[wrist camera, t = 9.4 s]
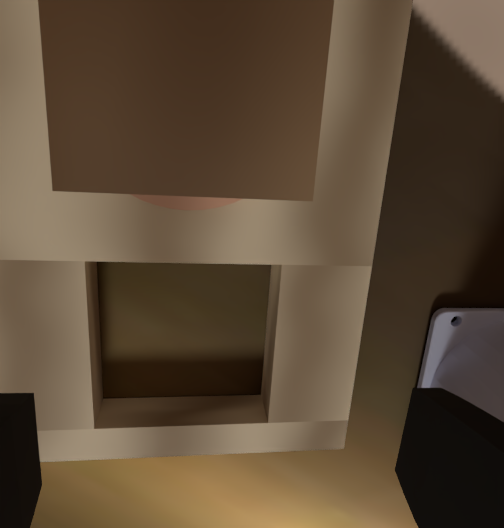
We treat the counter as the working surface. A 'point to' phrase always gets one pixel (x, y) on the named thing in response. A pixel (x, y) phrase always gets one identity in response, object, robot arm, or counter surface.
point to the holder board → (196, 251)
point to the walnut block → (185, 96)
